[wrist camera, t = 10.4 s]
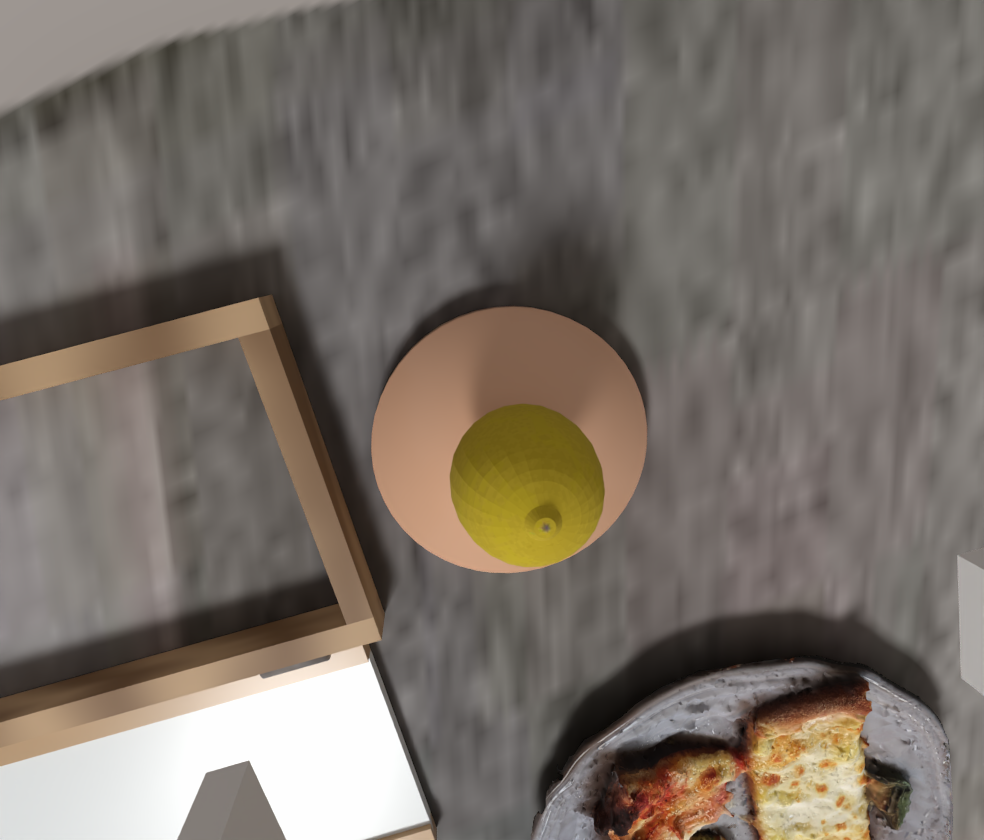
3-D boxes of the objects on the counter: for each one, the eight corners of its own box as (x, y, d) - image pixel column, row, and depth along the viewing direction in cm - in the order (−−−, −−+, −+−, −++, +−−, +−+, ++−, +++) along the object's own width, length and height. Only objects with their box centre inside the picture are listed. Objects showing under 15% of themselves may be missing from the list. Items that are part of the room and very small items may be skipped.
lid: (33, 946, 31) (21, 968, 30) (-96, 756, 28) (-115, 774, 27) (436, 828, 32) (436, 845, 31) (362, 628, 28) (360, 640, 27)
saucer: (417, 591, 28) (417, 603, 27) (336, 347, 25) (332, 350, 24) (659, 523, 28) (667, 532, 27) (612, 273, 25) (619, 274, 24)
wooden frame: (-118, 769, 28) (-159, 807, 26) (-337, 454, 23) (-407, 472, 21) (389, 626, 28) (386, 652, 26) (271, 294, 24) (258, 297, 22)
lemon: (594, 468, 26) (662, 556, 19) (485, 527, 26) (507, 638, 19) (538, 360, 25) (587, 407, 17) (422, 424, 25) (419, 498, 17)
